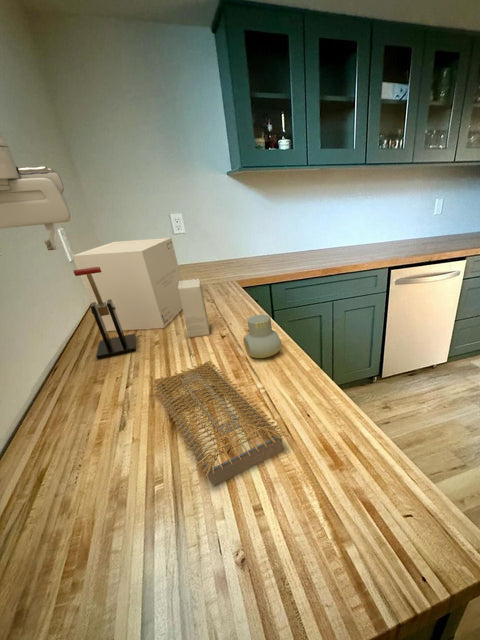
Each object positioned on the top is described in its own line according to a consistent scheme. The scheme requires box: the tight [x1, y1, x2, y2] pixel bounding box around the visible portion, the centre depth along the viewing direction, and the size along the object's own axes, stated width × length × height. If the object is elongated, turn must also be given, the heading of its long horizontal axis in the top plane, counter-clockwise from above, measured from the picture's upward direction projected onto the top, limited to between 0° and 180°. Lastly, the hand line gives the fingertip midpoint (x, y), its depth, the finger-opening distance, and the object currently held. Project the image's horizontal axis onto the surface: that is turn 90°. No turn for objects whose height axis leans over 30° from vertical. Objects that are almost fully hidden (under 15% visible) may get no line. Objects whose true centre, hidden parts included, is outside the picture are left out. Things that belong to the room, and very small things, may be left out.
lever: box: [73, 267, 109, 316], centre depth 91 cm, size 13×6×2 cm
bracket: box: [90, 299, 137, 361], centre depth 97 cm, size 12×10×14 cm
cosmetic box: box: [178, 278, 210, 338], centre depth 103 cm, size 8×7×16 cm
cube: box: [72, 237, 183, 332], centre depth 117 cm, size 25×21×24 cm
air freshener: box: [242, 313, 283, 359], centre depth 88 cm, size 11×8×10 cm
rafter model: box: [148, 360, 290, 487], centre depth 65 cm, size 35×14×6 cm, turn 34°
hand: (25, 253), depth 65 cm, fingers open, 8 cm apart
